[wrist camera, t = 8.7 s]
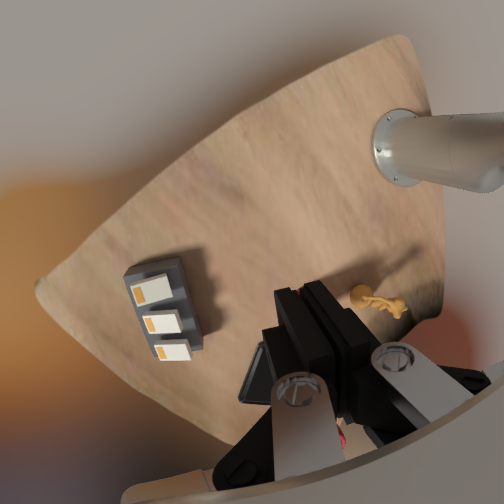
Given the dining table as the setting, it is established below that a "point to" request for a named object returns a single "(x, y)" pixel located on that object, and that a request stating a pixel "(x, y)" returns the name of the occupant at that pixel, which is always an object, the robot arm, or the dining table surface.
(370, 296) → the figurine
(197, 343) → the rocker switch panel
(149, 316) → the block
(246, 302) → the dining table surface
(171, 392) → the dining table surface
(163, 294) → the block
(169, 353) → the back rocker
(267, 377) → the phone
